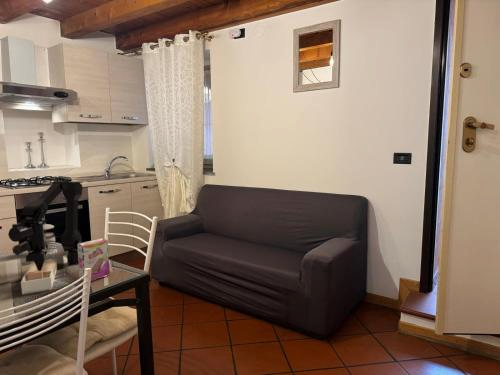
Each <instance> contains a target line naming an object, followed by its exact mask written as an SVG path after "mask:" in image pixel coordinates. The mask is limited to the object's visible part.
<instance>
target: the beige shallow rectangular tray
mask: <svg viewBox="0 0 500 375" xmlns="http://www.w3.org/2000/svg"><path fill="white" fill-rule="evenodd" d="M52 269H53V273H54V280H55V278H56V273H57V270H58V261H57V259H56V258H55V259H47V260H46V259H45V260H44V263H43V266H42V269H41V271H42V270H43V278H49V277H50V273H51V270H52ZM34 271H38V269H37V267H36V265H35V262H34V261H31V263H30V264H29V267H28V269H27V271H26V273H27V274H28V273H29V272H34ZM27 278H28V275H27Z"/></svg>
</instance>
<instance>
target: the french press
mask: <svg viewBox="0 0 500 375" xmlns="http://www.w3.org/2000/svg"><path fill="white" fill-rule="evenodd" d="M43 218H44V219H45V218H46V217H45V215H44V217H43ZM54 228H55V226H54V225H52V224H50V223H49V224H47V223H43V229H44V231H47V230H51V229H54ZM44 235H45V238H44V239H45V241H46V242H47V243H48V246H49V247H48V249H46V248H45V250H43V251H44V252H45V251H47V254H50V255H53V254H52V253H54V254H56V253H58V252H57V250H58V249H57V248H56V237H55V234H54V233H53V232H44ZM55 252H56V253H55ZM47 254H46V256H48V255H47Z"/></svg>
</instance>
